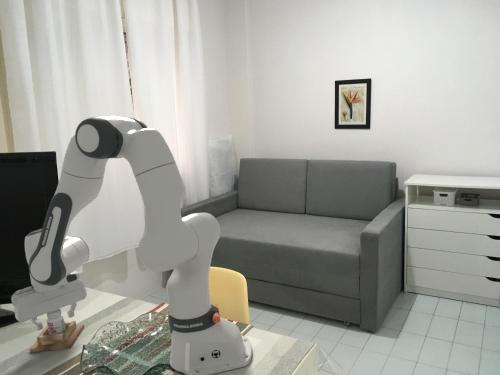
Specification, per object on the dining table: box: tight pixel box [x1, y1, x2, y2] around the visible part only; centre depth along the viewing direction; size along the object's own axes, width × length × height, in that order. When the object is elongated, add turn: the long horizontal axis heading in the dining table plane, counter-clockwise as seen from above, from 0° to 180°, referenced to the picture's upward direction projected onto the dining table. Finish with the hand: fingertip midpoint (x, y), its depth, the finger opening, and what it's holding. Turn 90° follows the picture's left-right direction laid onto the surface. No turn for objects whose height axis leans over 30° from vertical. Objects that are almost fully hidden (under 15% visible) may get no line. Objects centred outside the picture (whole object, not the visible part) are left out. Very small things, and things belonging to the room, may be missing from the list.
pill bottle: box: [46, 308, 66, 335], centre depth 129 cm, size 5×5×8 cm
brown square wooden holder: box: [29, 320, 85, 353], centre depth 130 cm, size 12×12×4 cm
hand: (56, 322), depth 129 cm, fingers open, 8 cm apart
